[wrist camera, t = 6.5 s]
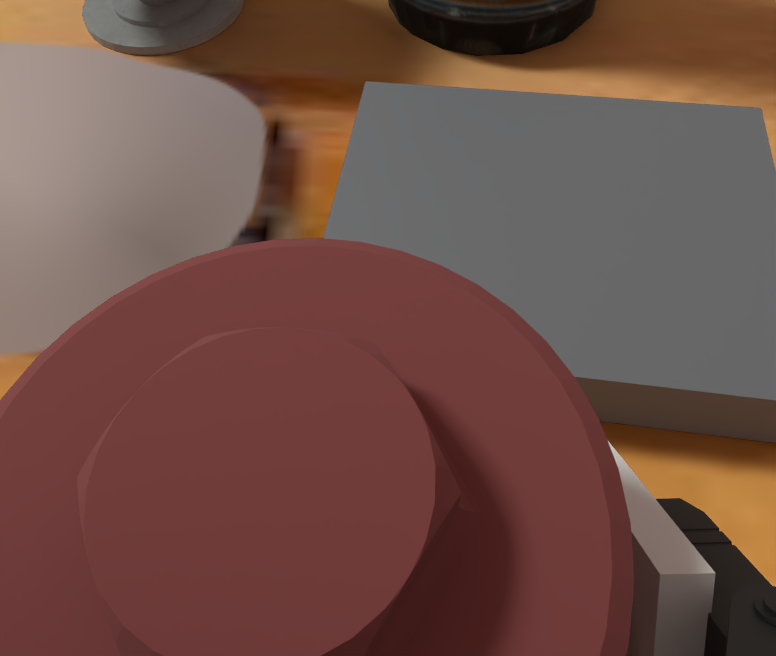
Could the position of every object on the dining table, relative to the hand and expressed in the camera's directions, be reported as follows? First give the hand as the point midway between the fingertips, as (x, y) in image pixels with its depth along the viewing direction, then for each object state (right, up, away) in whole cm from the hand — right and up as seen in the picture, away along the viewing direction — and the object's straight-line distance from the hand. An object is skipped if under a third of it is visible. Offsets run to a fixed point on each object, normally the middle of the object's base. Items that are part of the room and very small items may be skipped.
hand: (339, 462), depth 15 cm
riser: (+9, +7, +19) cm, 22 cm away
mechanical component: (0, -5, +2) cm, 5 cm away
